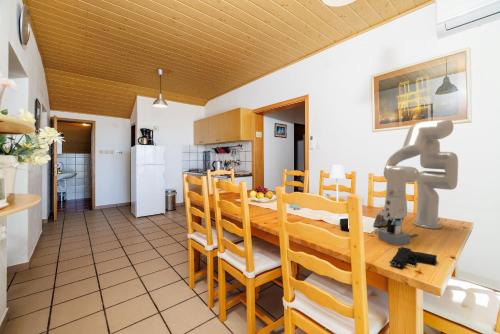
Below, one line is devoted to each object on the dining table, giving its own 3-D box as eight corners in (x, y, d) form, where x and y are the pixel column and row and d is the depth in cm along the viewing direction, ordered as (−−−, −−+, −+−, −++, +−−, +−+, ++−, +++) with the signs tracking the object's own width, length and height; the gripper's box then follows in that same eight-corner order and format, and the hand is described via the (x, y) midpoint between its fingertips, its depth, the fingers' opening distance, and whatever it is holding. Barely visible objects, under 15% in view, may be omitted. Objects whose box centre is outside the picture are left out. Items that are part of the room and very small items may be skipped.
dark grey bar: (415, 235, 111) (416, 234, 111) (417, 235, 110) (417, 234, 110) (401, 238, 106) (401, 237, 106) (403, 239, 106) (403, 237, 106)
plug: (399, 241, 103) (401, 221, 102) (394, 242, 101) (396, 222, 100) (392, 238, 106) (394, 218, 105) (387, 239, 105) (389, 219, 104)
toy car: (353, 223, 130) (353, 215, 129) (356, 233, 114) (356, 224, 114) (339, 222, 132) (339, 214, 132) (341, 231, 116) (341, 222, 116)
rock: (380, 229, 118) (383, 211, 118) (365, 224, 125) (368, 207, 125) (394, 229, 126) (397, 212, 126) (379, 224, 134) (382, 208, 134)
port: (390, 236, 109) (391, 228, 109) (409, 242, 101) (410, 234, 101) (378, 238, 106) (378, 230, 106) (396, 245, 98) (397, 237, 98)
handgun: (430, 281, 72) (388, 266, 81) (436, 262, 84) (399, 251, 93) (431, 271, 72) (389, 258, 80) (437, 254, 84) (400, 243, 92)
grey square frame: (383, 231, 116) (383, 227, 116) (396, 235, 110) (396, 232, 110) (375, 233, 113) (375, 229, 113) (387, 237, 107) (387, 233, 107)
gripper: (391, 196, 96) (389, 237, 97) (415, 193, 102) (413, 232, 103) (375, 193, 103) (374, 231, 104) (399, 191, 109) (397, 227, 110)
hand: (394, 231), depth 103 cm, fingers open, 4 cm apart
